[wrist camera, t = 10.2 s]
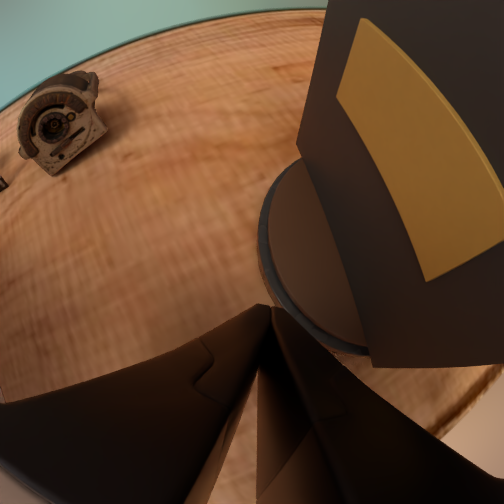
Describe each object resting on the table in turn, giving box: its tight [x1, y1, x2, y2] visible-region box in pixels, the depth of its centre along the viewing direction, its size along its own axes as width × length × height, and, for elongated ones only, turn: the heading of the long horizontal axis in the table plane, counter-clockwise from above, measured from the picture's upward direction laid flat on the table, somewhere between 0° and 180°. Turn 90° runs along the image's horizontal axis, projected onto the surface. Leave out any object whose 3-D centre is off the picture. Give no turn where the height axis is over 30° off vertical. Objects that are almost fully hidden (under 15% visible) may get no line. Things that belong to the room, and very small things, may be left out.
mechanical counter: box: [17, 71, 108, 176], centre depth 18 cm, size 7×13×10 cm
